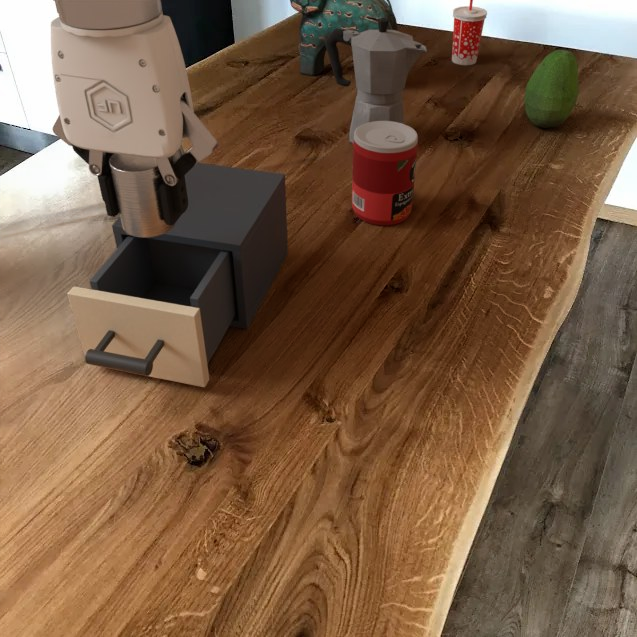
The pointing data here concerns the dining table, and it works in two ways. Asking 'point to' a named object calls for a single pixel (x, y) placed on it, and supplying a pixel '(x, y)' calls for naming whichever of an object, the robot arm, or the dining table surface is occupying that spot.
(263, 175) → the cabinet
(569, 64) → the avocado
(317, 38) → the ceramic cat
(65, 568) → the dining table surface
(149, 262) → the drawer
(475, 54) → the beverage cup
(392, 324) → the dining table surface
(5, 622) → the dining table surface
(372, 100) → the coffeepot
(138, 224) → the cylinder
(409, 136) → the canned food
